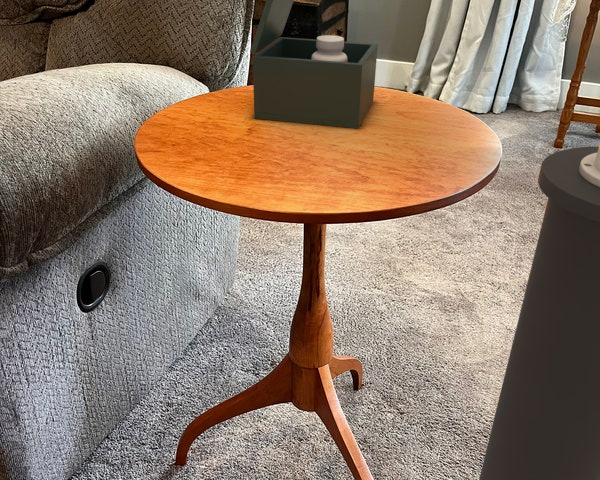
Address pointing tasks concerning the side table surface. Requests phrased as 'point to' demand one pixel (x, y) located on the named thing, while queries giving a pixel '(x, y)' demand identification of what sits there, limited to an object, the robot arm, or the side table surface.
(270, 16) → the case lid
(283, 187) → the side table surface
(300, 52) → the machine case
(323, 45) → the pill bottle
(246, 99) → the side table surface
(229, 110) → the side table surface
